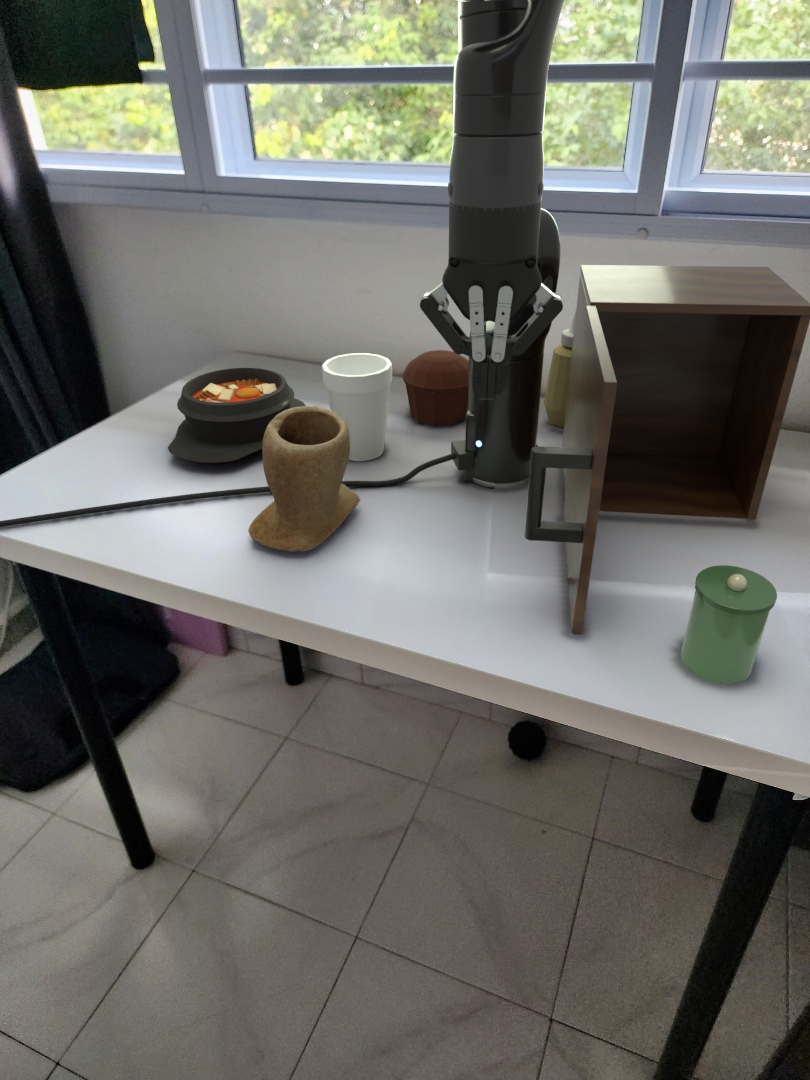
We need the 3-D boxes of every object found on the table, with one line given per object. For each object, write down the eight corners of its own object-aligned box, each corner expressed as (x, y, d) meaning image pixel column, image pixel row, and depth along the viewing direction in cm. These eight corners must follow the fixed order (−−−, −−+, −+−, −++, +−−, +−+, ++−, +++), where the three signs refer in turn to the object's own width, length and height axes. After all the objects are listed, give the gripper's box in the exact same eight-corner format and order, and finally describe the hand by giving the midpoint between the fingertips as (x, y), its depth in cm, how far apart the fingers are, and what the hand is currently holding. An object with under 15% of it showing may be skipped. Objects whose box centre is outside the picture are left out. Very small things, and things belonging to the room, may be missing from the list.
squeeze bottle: (603, 421, 116) (618, 303, 106) (583, 440, 110) (598, 318, 100) (554, 411, 119) (565, 296, 110) (533, 429, 114) (542, 309, 104)
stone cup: (324, 570, 83) (312, 448, 75) (236, 546, 88) (217, 428, 80) (385, 507, 95) (381, 395, 87) (305, 489, 99) (294, 381, 91)
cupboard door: (517, 629, 74) (537, 380, 60) (519, 515, 92) (535, 304, 78) (582, 634, 73) (617, 382, 59) (570, 518, 91) (596, 305, 77)
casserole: (252, 484, 101) (243, 426, 96) (138, 463, 106) (126, 408, 102) (333, 414, 120) (329, 363, 116) (234, 399, 126) (226, 351, 121)
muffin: (395, 426, 115) (393, 364, 110) (410, 399, 125) (409, 340, 119) (471, 432, 113) (473, 368, 108) (481, 404, 122) (484, 344, 117)
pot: (684, 683, 67) (706, 595, 62) (673, 635, 73) (692, 551, 67) (762, 689, 66) (790, 601, 61) (744, 641, 72) (769, 556, 67)
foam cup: (404, 443, 110) (403, 358, 103) (376, 470, 103) (372, 380, 96) (348, 433, 114) (342, 349, 107) (317, 458, 107) (309, 370, 100)
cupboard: (753, 526, 89) (814, 306, 75) (566, 516, 92) (590, 302, 78) (722, 462, 103) (768, 266, 89) (561, 455, 106) (580, 264, 92)
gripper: (575, 189, 63) (557, 384, 73) (420, 189, 65) (421, 380, 74) (580, 203, 57) (560, 415, 66) (409, 203, 59) (412, 410, 68)
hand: (487, 396), depth 70 cm, fingers closed
